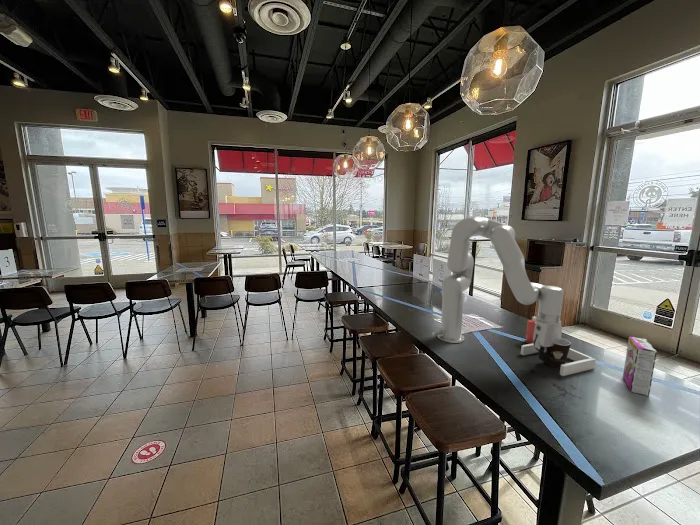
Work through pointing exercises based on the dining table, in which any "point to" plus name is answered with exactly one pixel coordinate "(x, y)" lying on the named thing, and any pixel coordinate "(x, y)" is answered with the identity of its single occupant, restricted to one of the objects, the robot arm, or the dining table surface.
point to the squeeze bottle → (530, 330)
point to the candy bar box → (639, 365)
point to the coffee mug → (558, 353)
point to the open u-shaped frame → (580, 365)
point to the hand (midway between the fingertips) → (543, 360)
